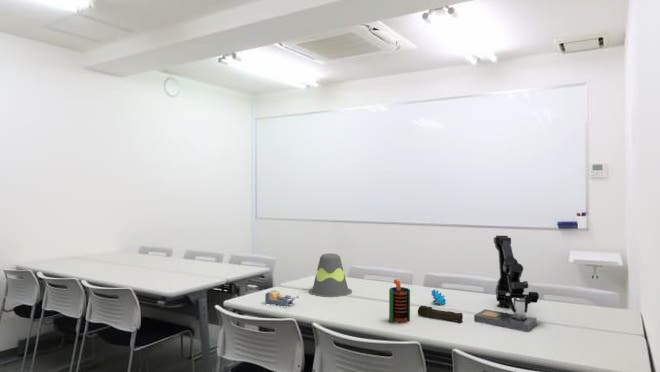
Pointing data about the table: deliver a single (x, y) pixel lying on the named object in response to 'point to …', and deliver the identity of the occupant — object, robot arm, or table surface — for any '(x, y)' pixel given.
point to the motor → (399, 303)
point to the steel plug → (519, 308)
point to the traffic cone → (330, 278)
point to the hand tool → (439, 314)
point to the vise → (278, 298)
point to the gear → (438, 297)
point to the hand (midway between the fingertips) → (520, 312)
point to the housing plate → (505, 320)
